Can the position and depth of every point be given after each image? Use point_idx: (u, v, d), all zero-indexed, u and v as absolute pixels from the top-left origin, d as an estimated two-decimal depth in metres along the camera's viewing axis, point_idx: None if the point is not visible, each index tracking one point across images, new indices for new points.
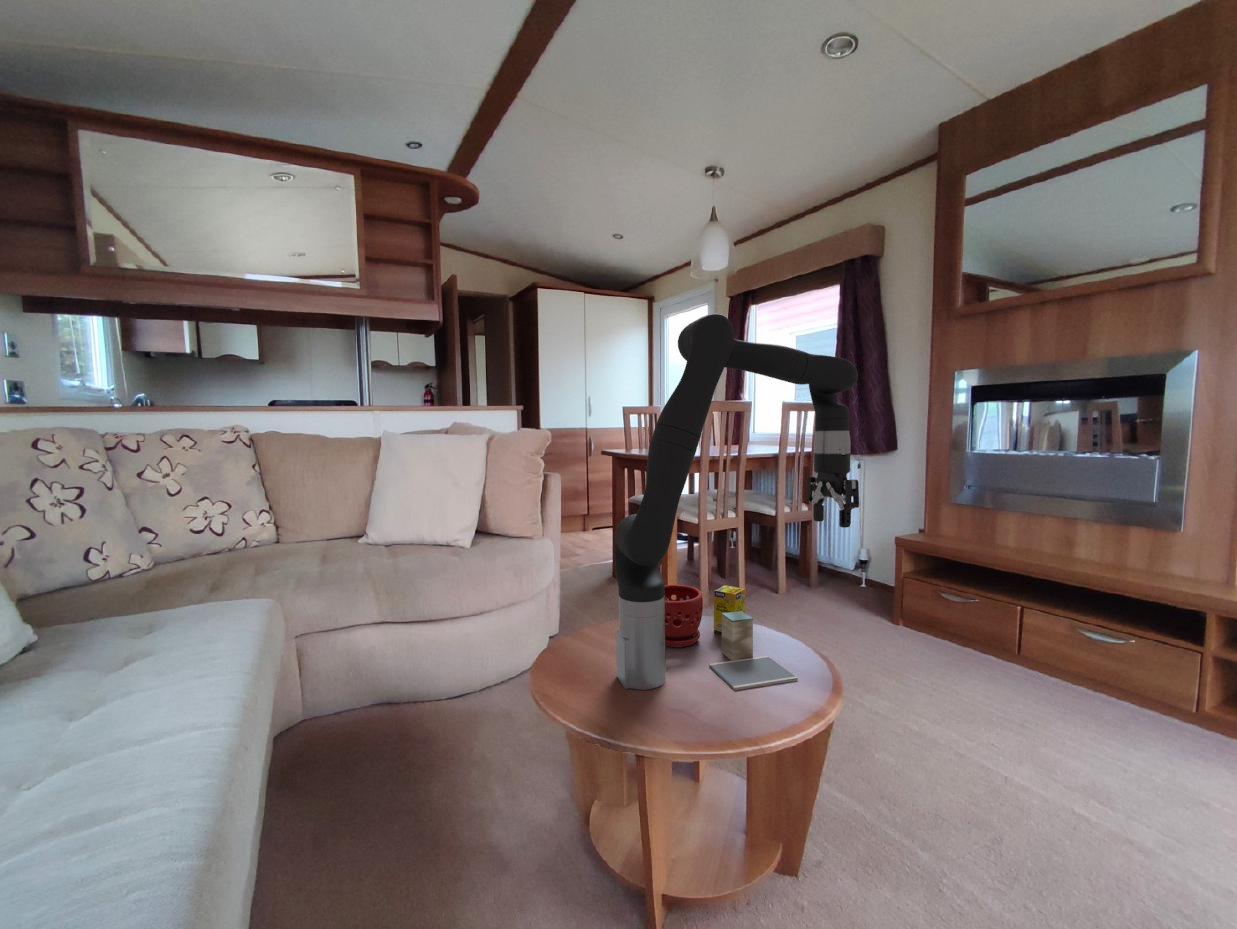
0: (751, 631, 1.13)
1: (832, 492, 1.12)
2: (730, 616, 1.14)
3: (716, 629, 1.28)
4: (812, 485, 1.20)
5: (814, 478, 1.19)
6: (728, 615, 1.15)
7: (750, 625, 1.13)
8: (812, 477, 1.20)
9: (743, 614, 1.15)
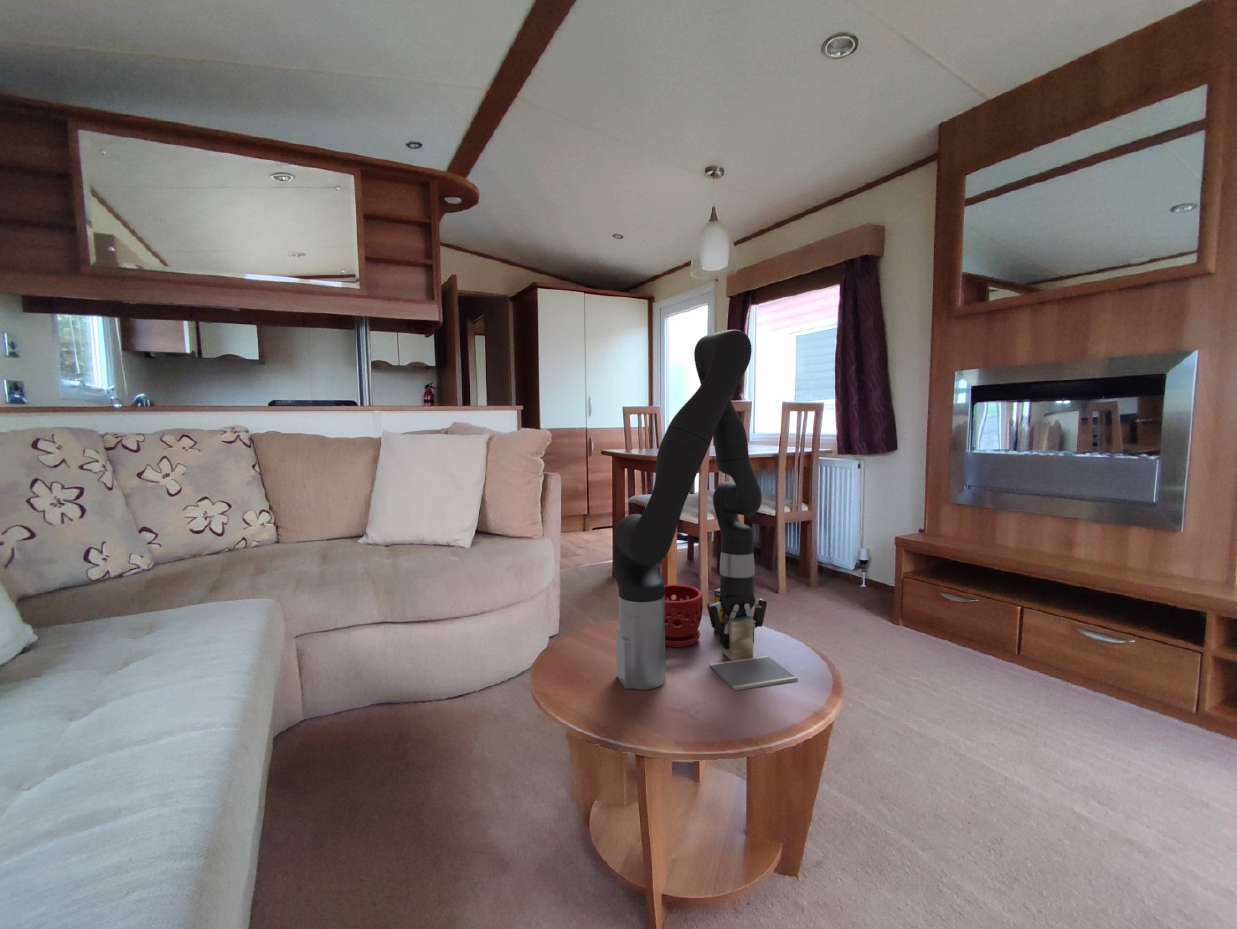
0: (751, 631, 1.13)
1: (748, 613, 1.14)
2: None
3: None
4: None
5: (716, 605, 1.13)
6: None
7: (750, 625, 1.13)
8: (715, 606, 1.12)
9: None
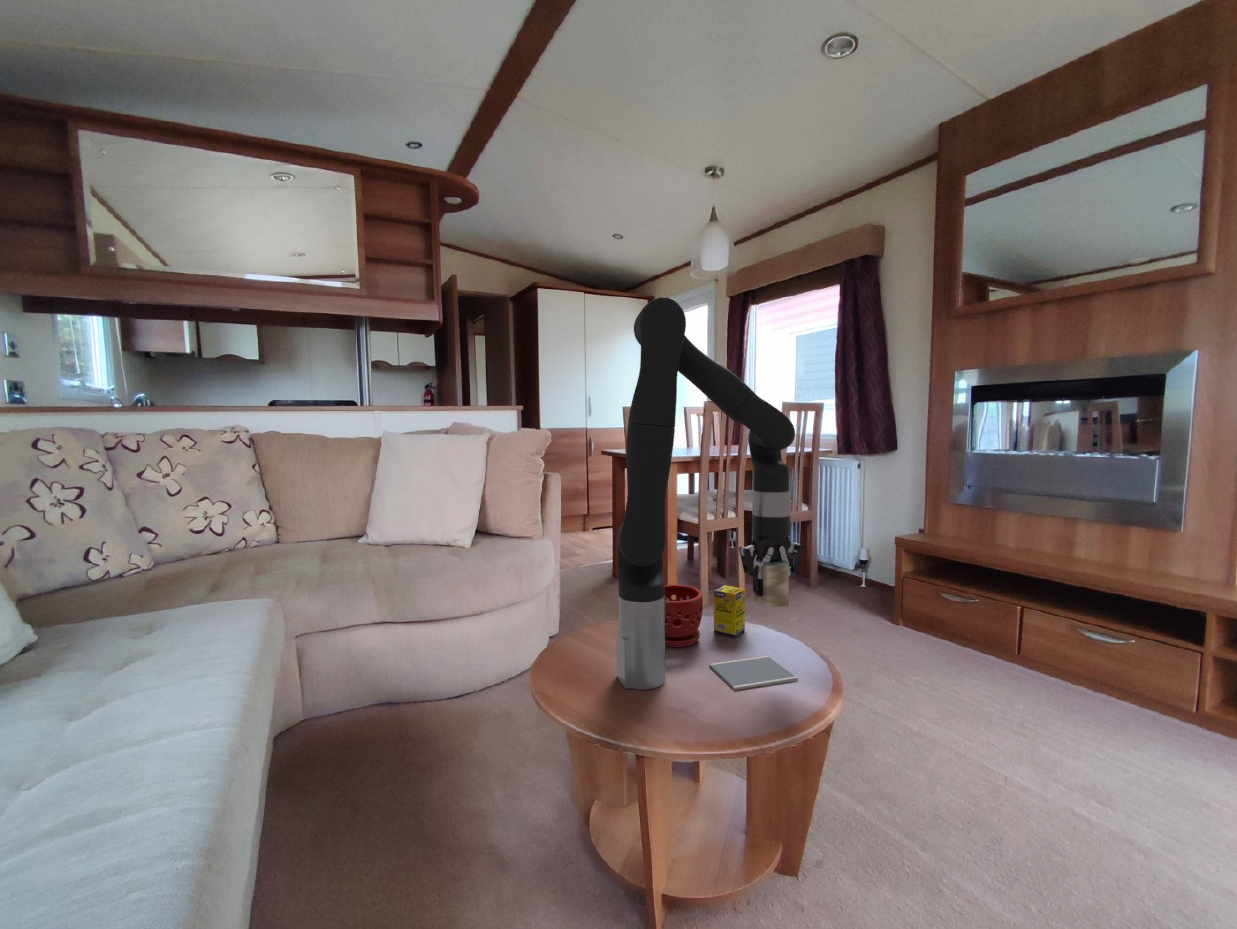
0: (787, 576, 1.05)
1: (783, 557, 1.05)
2: None
3: (716, 629, 1.28)
4: None
5: (749, 548, 1.04)
6: None
7: (785, 570, 1.04)
8: (747, 548, 1.04)
9: None
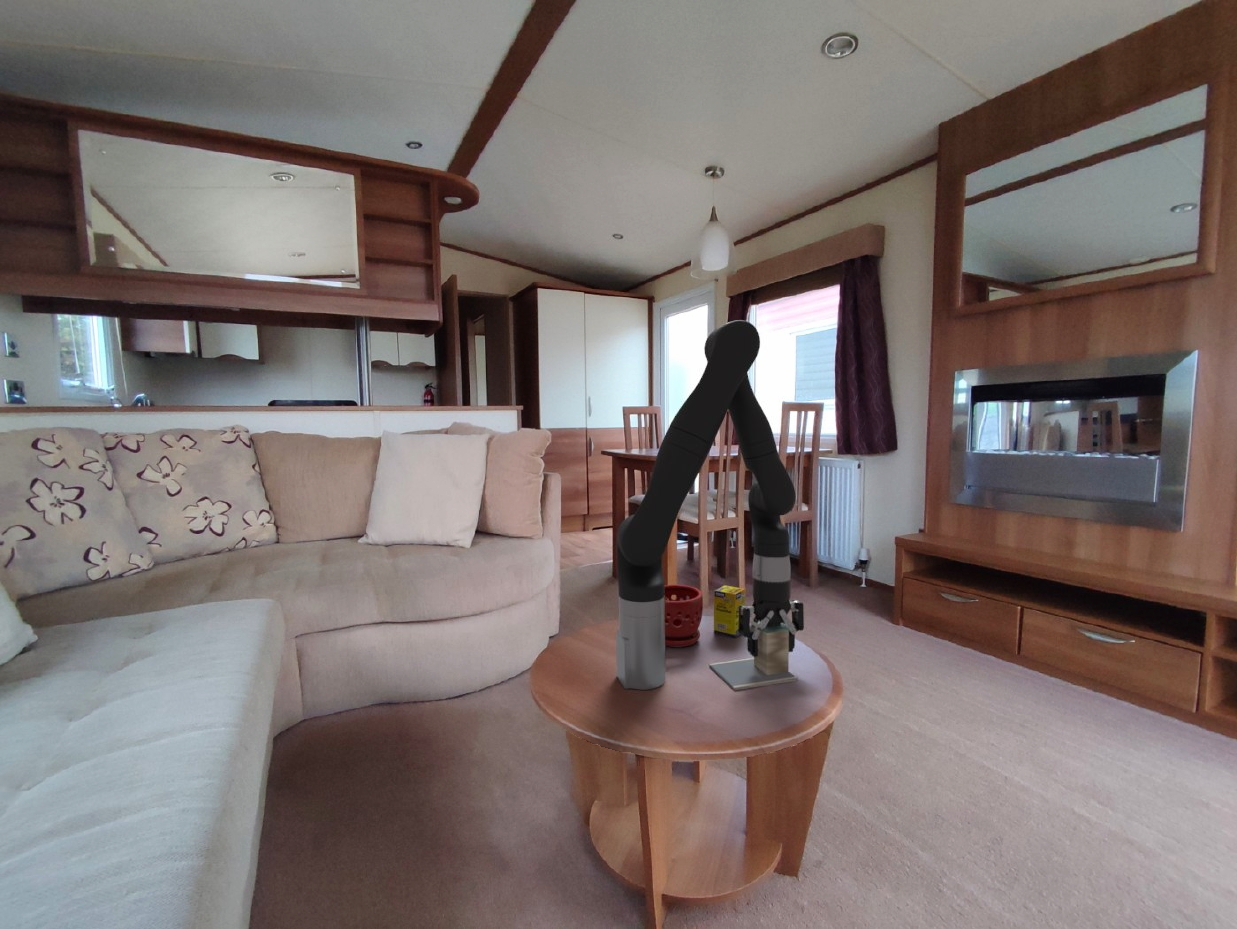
0: (787, 642, 1.05)
1: (785, 619, 1.06)
2: None
3: (716, 629, 1.28)
4: None
5: None
6: None
7: (785, 636, 1.05)
8: None
9: None
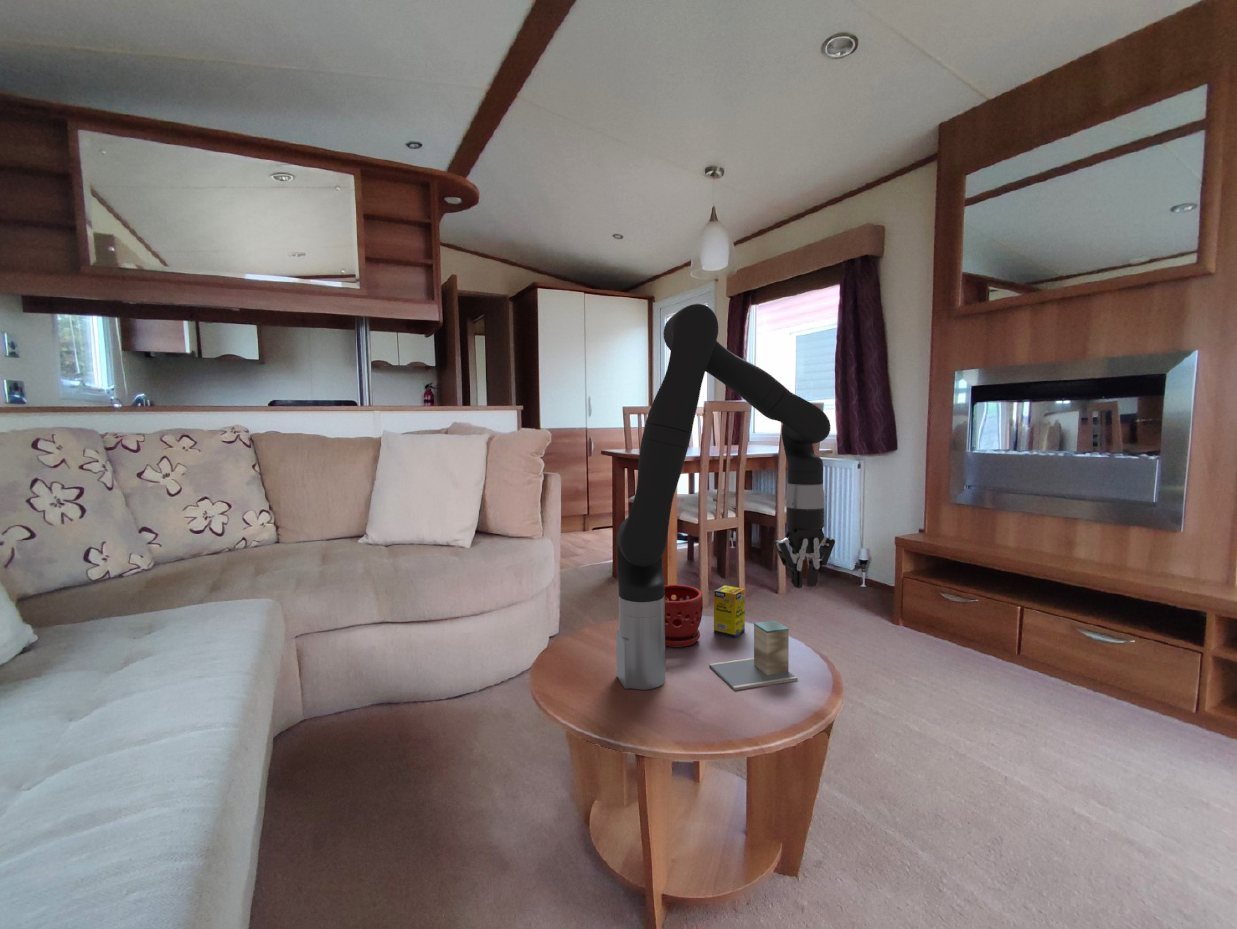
0: (787, 642, 1.05)
1: (816, 549, 1.07)
2: (764, 626, 1.06)
3: (716, 629, 1.28)
4: None
5: (784, 542, 1.06)
6: (761, 625, 1.07)
7: (785, 636, 1.05)
8: None
9: (777, 624, 1.08)
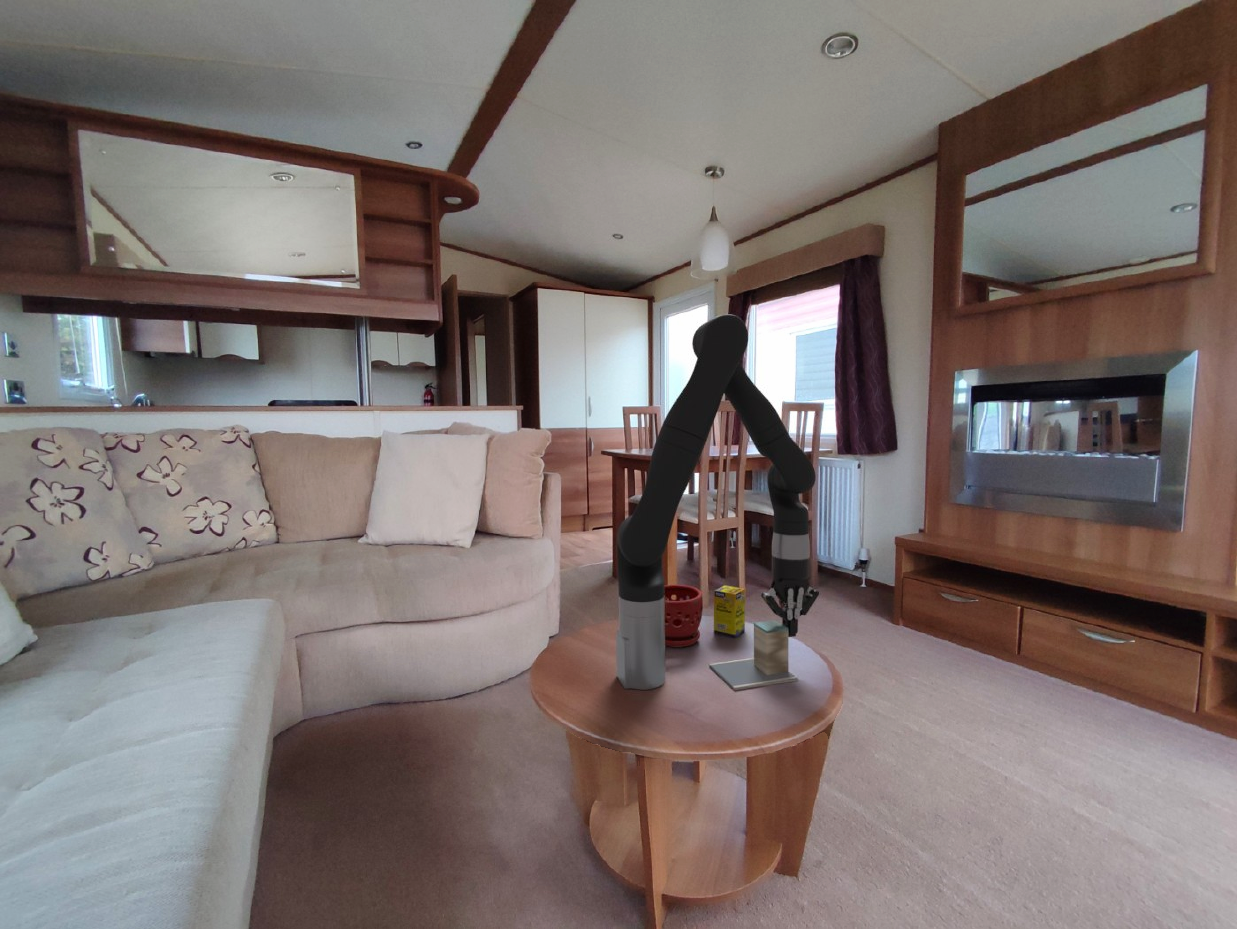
0: (787, 642, 1.05)
1: (799, 599, 1.07)
2: (763, 626, 1.06)
3: (716, 629, 1.28)
4: None
5: (770, 594, 1.06)
6: (761, 625, 1.07)
7: (785, 636, 1.05)
8: (769, 595, 1.06)
9: (777, 624, 1.08)
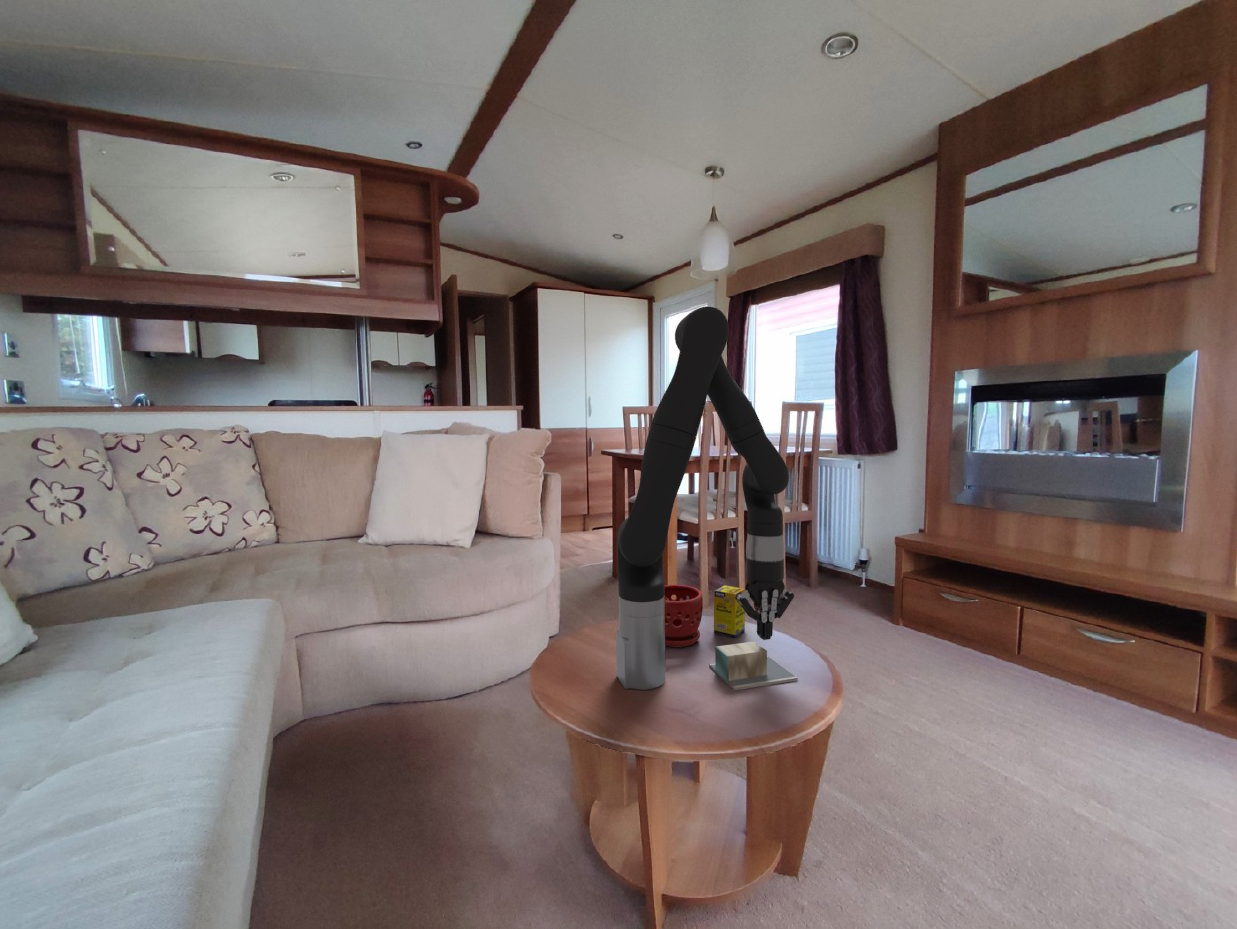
0: (740, 656, 1.02)
1: (773, 601, 1.05)
2: (720, 671, 1.04)
3: (716, 629, 1.28)
4: None
5: (744, 596, 1.04)
6: (719, 670, 1.05)
7: (733, 658, 1.02)
8: (743, 597, 1.04)
9: (720, 654, 1.04)
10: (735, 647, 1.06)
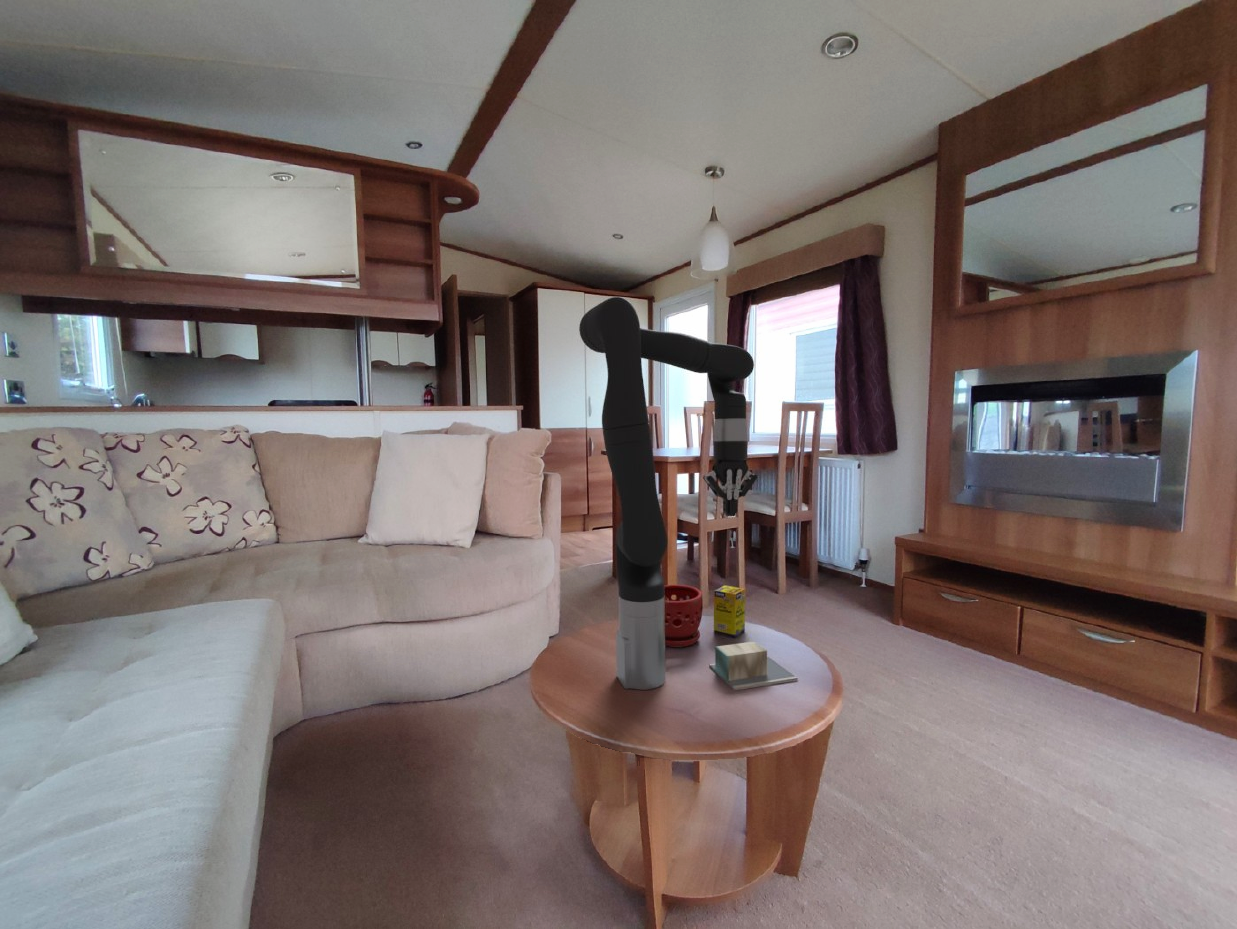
0: (740, 656, 1.02)
1: (738, 480, 1.15)
2: (720, 671, 1.04)
3: (716, 629, 1.28)
4: None
5: (711, 475, 1.14)
6: (719, 670, 1.05)
7: (733, 658, 1.02)
8: (709, 475, 1.14)
9: (720, 654, 1.04)
10: (735, 647, 1.06)
